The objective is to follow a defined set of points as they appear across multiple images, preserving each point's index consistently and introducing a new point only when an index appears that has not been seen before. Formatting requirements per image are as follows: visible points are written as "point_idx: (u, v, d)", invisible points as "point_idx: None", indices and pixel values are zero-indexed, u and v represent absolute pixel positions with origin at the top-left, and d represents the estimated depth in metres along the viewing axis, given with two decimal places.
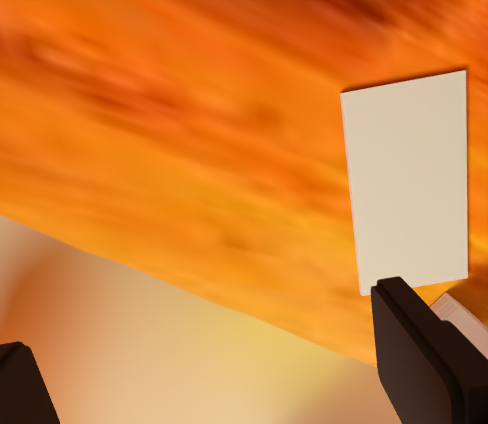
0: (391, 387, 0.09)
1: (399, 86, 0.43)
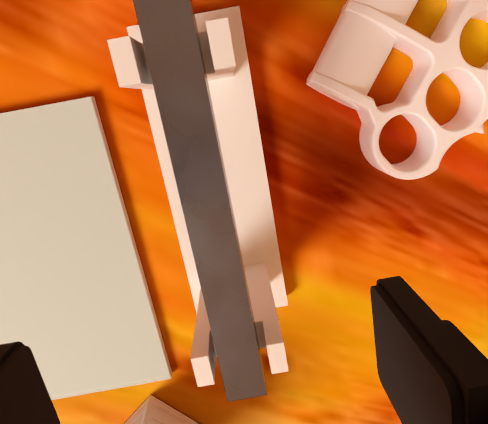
0: (391, 387, 0.09)
1: None
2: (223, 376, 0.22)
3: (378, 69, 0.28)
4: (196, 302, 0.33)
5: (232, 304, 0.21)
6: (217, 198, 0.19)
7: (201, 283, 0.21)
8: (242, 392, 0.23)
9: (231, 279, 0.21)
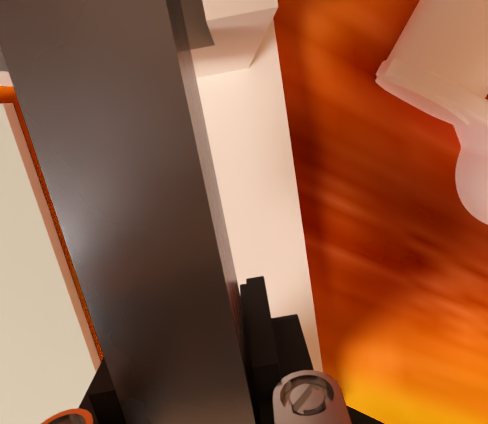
0: None
1: None
2: None
3: None
4: None
5: None
6: (218, 385, 0.07)
7: None
8: None
9: None
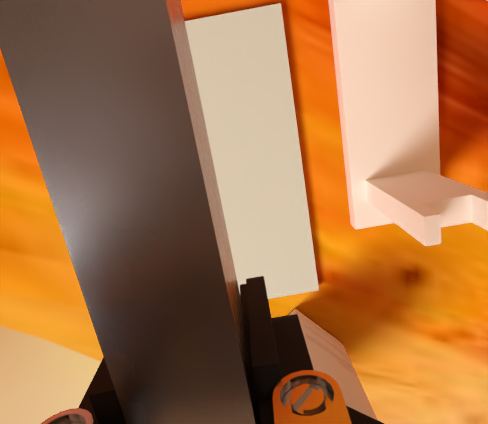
0: None
1: (189, 26, 0.31)
2: None
3: None
4: (355, 210, 0.35)
5: None
6: (218, 388, 0.07)
7: None
8: None
9: None
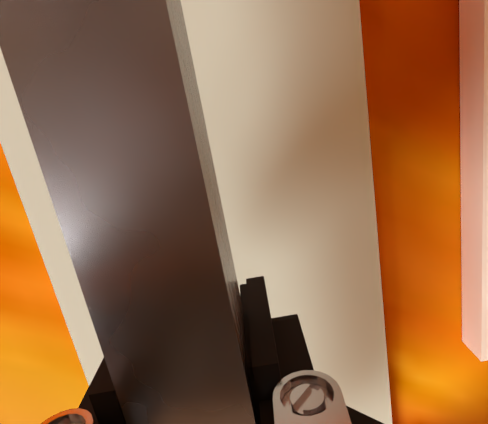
0: None
1: None
2: None
3: None
4: (486, 325, 0.17)
5: None
6: (219, 388, 0.07)
7: None
8: None
9: None
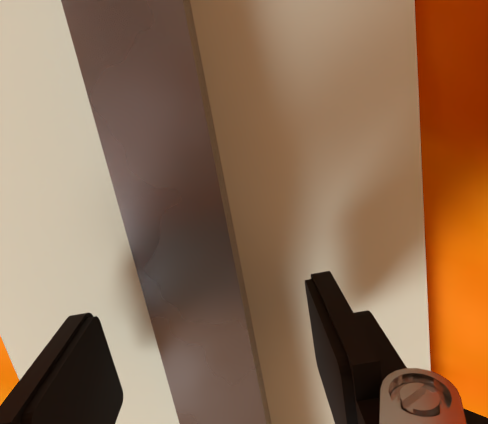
0: (321, 372, 0.10)
1: None
2: None
3: None
4: None
5: None
6: (222, 306, 0.10)
7: None
8: None
9: None
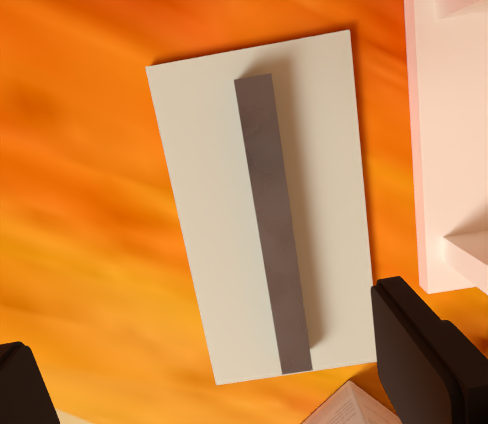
0: (391, 387, 0.09)
1: (240, 56, 0.26)
2: (280, 354, 0.29)
3: None
4: (429, 271, 0.29)
5: (290, 298, 0.28)
6: (283, 218, 0.26)
7: (267, 281, 0.28)
8: (293, 367, 0.29)
9: (289, 278, 0.28)
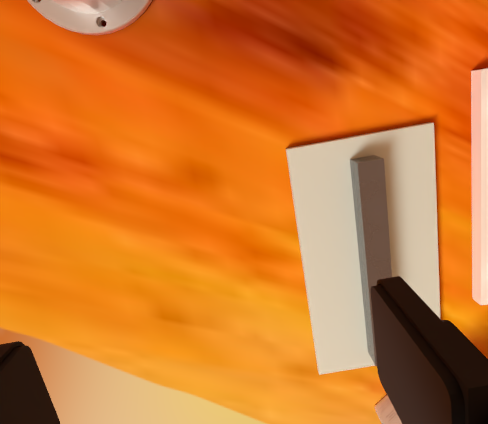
0: (391, 387, 0.09)
1: (355, 141, 0.36)
2: (375, 351, 0.40)
3: None
4: (482, 289, 0.40)
5: None
6: (385, 256, 0.37)
7: (370, 299, 0.38)
8: None
9: None
